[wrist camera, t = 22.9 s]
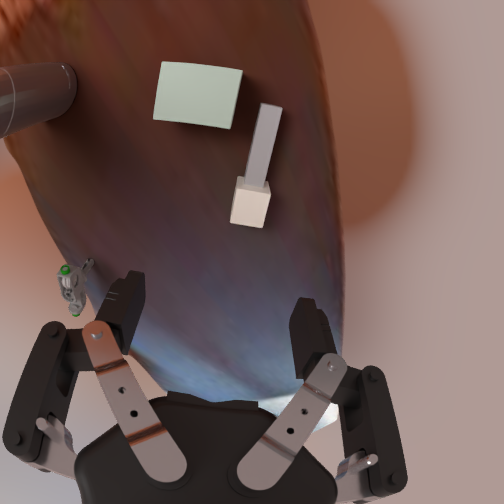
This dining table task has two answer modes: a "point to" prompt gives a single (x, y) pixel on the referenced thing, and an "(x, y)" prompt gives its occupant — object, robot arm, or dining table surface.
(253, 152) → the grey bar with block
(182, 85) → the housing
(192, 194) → the dining table surface
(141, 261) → the dining table surface
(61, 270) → the mechanical component
